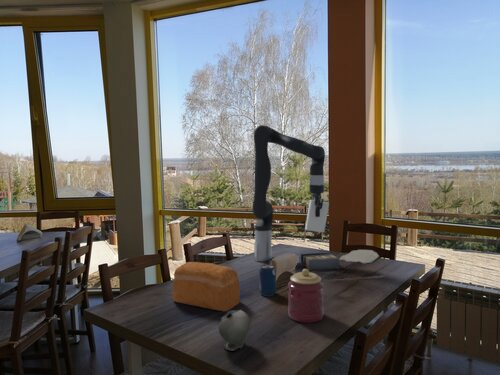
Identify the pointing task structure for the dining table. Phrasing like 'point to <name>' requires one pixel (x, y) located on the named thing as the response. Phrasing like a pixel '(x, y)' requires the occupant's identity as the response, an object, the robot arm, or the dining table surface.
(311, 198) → the robot arm
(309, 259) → the offcut block left
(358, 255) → the stone tablet
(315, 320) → the canister
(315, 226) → the cream board
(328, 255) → the offcut block right
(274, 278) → the soda can
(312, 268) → the metal rack
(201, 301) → the bread
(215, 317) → the dining table surface
